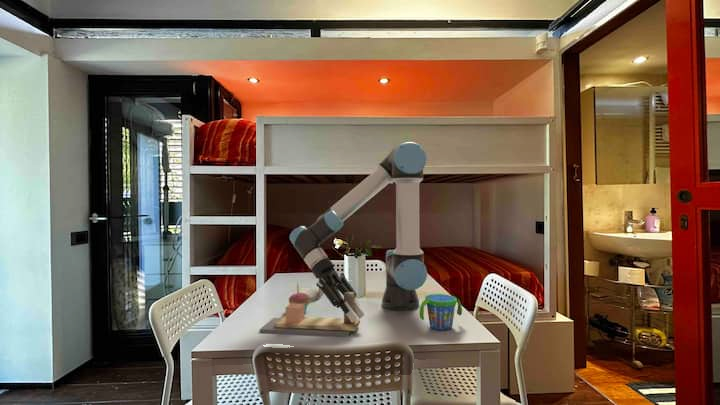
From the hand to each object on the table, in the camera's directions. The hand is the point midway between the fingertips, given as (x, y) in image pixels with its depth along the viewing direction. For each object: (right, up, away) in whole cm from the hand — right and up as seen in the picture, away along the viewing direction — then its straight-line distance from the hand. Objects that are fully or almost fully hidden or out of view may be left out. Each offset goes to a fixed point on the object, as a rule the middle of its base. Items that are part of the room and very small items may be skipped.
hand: (358, 318), depth 124 cm
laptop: (-22, -5, +50) cm, 55 cm away
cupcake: (-23, -5, +24) cm, 34 cm away
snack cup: (+28, -5, +4) cm, 29 cm away
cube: (-22, -2, +5) cm, 23 cm away
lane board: (-17, -5, +4) cm, 18 cm away
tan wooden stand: (-14, -3, +4) cm, 15 cm away
